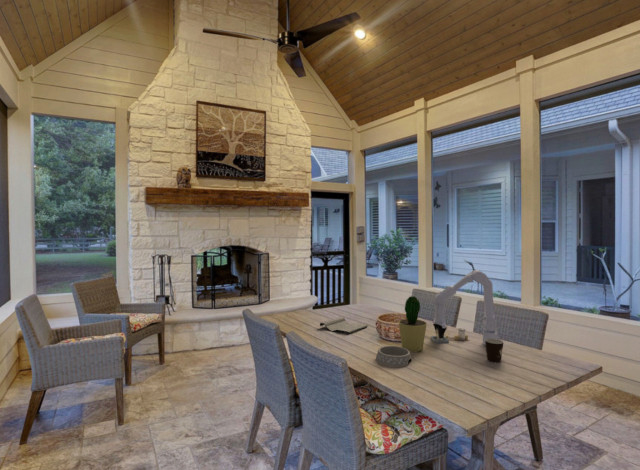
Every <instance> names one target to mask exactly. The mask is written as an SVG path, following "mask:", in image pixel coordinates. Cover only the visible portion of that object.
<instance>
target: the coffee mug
mask: <svg viewBox="0 0 640 470" xmlns="http://www.w3.org/2000/svg"><path fill="white" fill-rule="evenodd" d="M485 343H486V345H485V351H486V353H485V354H486V360H487V361H488V362H490V363H495V362H496V363H498V362H499V363H501V362H502V355H503V349H504V343H505V342H504V340H502V339H499V340H498V339H485Z"/></svg>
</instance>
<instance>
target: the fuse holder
mask: <svg viewBox="0 0 640 470" xmlns="http://www.w3.org/2000/svg"><path fill="white" fill-rule="evenodd" d="M444 337H446V338H447V339H448V340H449V342H470V341H471V340H470V339H469V336H468V334H465V340H459V336H458V334H454V336H452V337H449V335H447V334H444Z"/></svg>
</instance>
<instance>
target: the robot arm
mask: <svg viewBox="0 0 640 470" xmlns="http://www.w3.org/2000/svg"><path fill="white" fill-rule="evenodd" d="M475 282H476V283H478V284H480V285H482V287H483V291H482V292H483V308H484V309H483V310H484V314H483V319H482V325H483V328H482V344H483V345H484V346H486V343H485V339H498V340H501V339H500V335H499V334H498V333H497V328H498V323H497V322H496V317H495V311H494V310H495V309H494V291H493V287H494V286H493V282H492V281H491V280H490V278H489V277H488V276H487V274H486V273H484V272H482V271H481V270H479V269H473V270H472V271H469V272H468V273H467V274H466V275H464V276H463V277H462V278H460V279H459V280H458V281H457V282H455V284H453V285H447V286H445V288H444V289H443V290H442V291H439V292H438V293H436V294H435V296H434V301H435V304H434V305H435V306H434V318H433V320H432V323H433V324H432V325H433V327H434V330H435V332H436V329H438V333H439V338H443V337H445V333H446V330H447V328H448V327H447V324H446V307H445V306H446V304H445V303H446V302H447V300H448V301H449V299H451V298H452V297H453V296H455V295H456V294H457V291H458V290H460V288H462V287H463V286H465V285H467V283H468V284H469V283H475Z"/></svg>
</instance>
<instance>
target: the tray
mask: <svg viewBox="0 0 640 470" xmlns="http://www.w3.org/2000/svg"><path fill="white" fill-rule="evenodd" d="M430 340H431V341H433V342H434V343H435V344H448V343H449V344H450V341H449V340H448V339H447V338H446V337H445V336H444V337H443V340H437V339H436V335H432V336H430Z"/></svg>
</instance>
